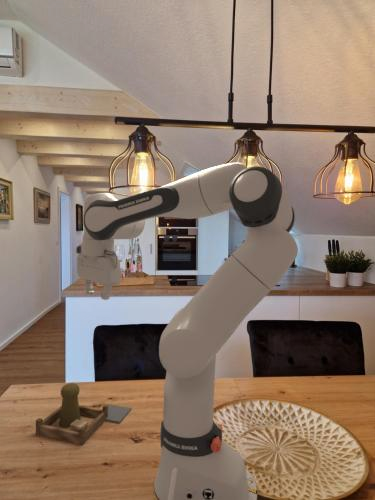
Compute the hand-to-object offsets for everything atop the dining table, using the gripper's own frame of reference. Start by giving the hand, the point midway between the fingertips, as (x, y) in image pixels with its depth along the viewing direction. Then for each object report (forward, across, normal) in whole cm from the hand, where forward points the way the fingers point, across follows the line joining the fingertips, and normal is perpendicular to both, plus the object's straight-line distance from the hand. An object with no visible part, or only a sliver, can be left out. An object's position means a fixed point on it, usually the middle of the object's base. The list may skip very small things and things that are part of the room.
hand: (97, 296), depth 95 cm
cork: (+37, +4, +6) cm, 38 cm away
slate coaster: (+37, -1, -6) cm, 37 cm away
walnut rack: (+37, +1, +6) cm, 38 cm away
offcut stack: (+37, -4, +7) cm, 38 cm away
